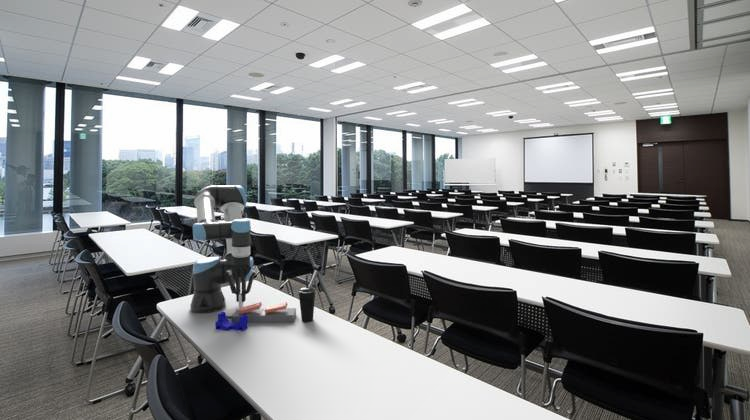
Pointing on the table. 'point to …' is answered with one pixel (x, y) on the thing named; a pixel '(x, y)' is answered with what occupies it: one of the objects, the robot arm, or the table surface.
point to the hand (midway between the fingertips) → (241, 308)
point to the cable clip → (226, 325)
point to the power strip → (266, 316)
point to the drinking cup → (307, 302)
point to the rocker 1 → (250, 308)
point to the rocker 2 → (276, 307)
